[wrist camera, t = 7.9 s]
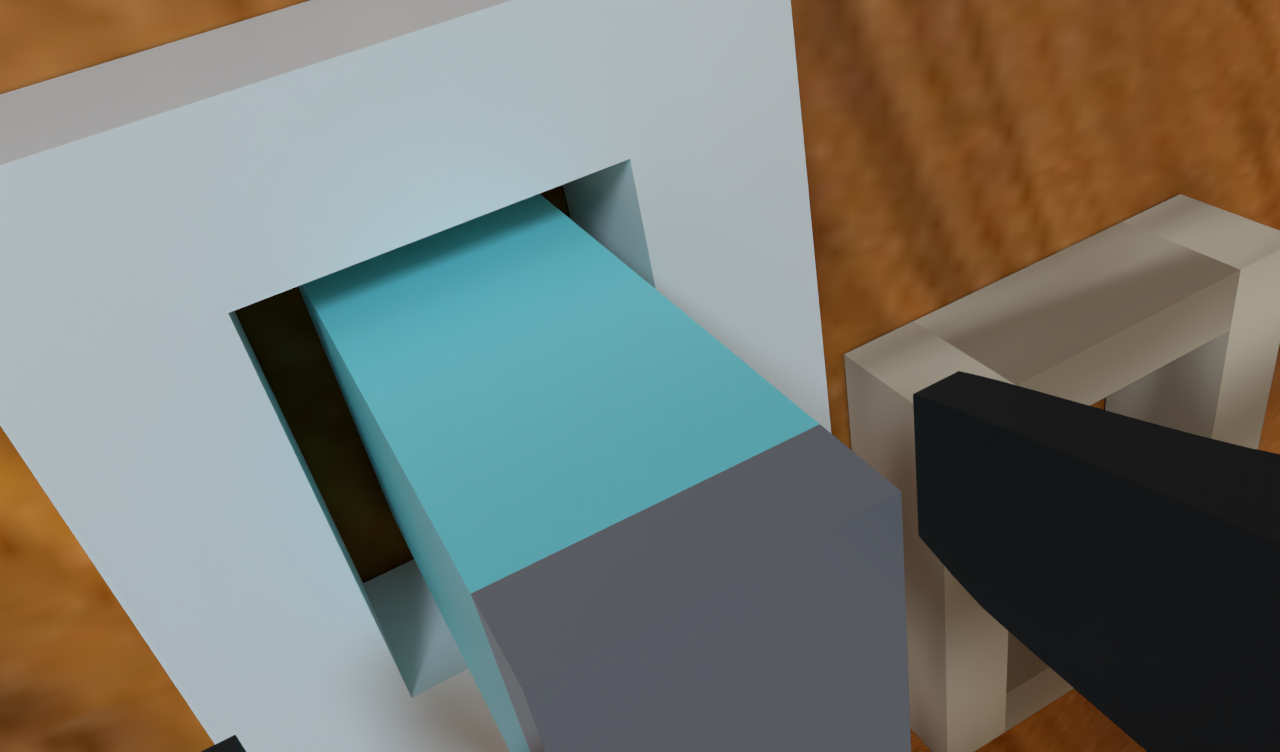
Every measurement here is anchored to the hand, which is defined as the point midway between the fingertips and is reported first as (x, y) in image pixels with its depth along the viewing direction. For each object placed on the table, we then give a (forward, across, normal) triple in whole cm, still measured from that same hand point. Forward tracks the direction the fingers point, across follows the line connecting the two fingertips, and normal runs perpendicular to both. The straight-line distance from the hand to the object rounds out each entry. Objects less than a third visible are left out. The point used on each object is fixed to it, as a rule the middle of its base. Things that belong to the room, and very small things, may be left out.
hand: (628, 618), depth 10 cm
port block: (+6, 0, 0) cm, 6 cm away
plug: (+6, 0, 0) cm, 6 cm away
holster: (+6, -10, +7) cm, 14 cm away
